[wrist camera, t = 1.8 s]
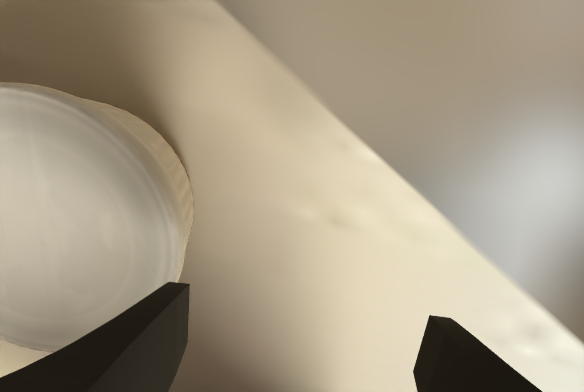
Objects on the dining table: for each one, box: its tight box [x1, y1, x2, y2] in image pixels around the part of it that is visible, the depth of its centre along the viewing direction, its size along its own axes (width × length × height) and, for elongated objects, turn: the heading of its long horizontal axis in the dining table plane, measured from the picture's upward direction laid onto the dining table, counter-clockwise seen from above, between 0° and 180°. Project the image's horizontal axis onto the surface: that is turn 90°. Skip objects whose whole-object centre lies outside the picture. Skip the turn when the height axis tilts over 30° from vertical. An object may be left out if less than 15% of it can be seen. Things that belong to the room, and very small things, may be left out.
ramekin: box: [0, 82, 194, 352], centre depth 16 cm, size 11×11×5 cm
